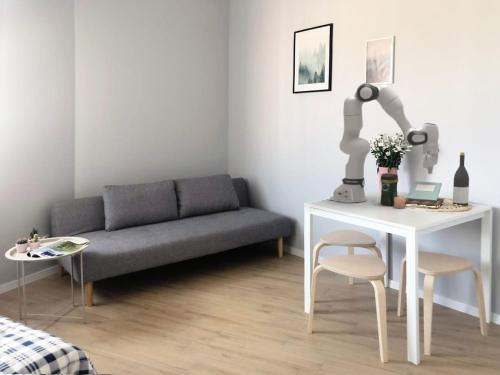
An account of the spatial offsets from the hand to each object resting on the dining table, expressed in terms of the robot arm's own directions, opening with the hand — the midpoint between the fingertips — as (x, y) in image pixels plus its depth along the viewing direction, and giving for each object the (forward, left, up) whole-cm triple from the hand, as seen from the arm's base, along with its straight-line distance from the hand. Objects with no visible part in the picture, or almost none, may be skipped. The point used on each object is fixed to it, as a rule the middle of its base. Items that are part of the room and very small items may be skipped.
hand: (430, 173), depth 277 cm
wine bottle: (+18, -4, -17) cm, 25 cm away
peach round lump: (-10, -26, -17) cm, 33 cm away
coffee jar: (-18, -20, -17) cm, 32 cm away
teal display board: (0, -12, -9) cm, 15 cm away
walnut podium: (0, -13, -17) cm, 21 cm away
